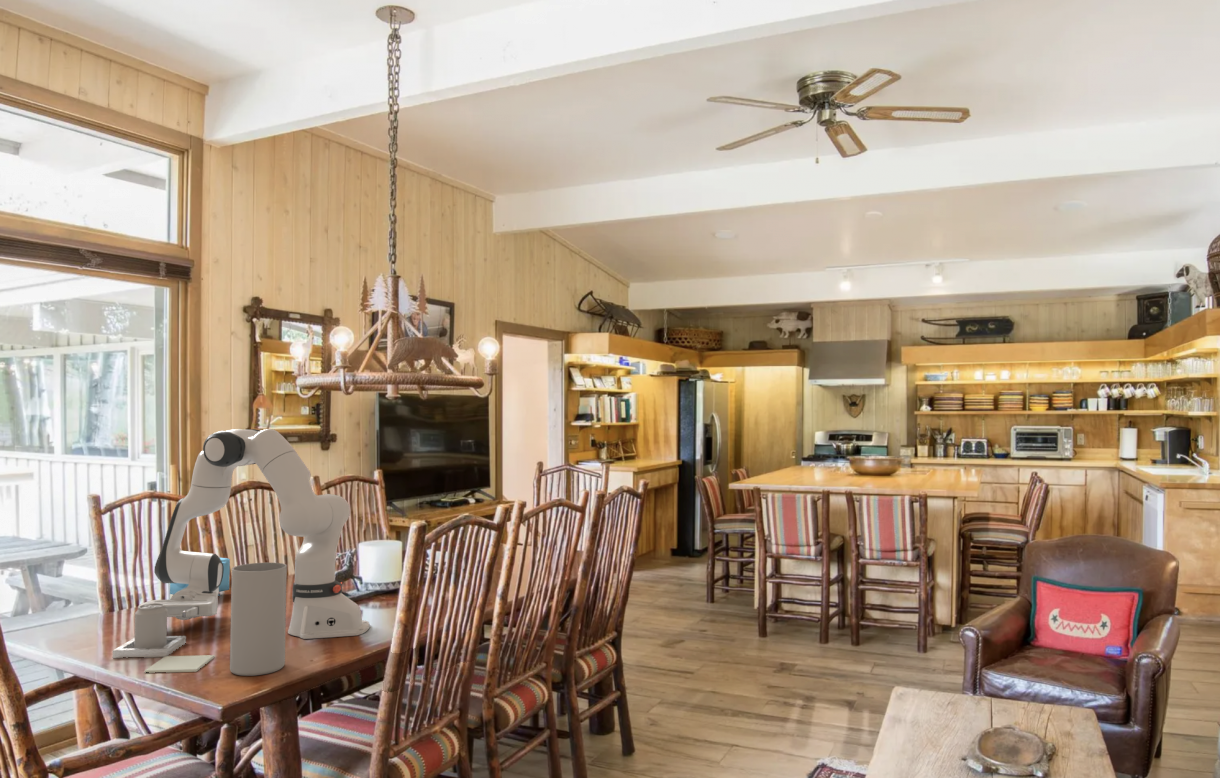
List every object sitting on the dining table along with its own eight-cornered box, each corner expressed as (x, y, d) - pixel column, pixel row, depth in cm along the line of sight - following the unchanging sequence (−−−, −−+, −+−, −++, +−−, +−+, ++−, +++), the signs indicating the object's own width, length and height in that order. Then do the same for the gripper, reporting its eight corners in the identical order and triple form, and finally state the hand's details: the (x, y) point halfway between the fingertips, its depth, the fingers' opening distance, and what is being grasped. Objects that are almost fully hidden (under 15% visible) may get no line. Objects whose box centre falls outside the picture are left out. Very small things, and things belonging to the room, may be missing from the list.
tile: (214, 657, 215) (214, 655, 215) (196, 671, 203) (196, 669, 203) (165, 658, 213) (165, 656, 213) (144, 673, 202) (144, 670, 202)
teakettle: (231, 590, 296) (232, 548, 297) (226, 601, 279) (226, 557, 279) (172, 594, 290) (173, 551, 291) (162, 605, 272) (163, 560, 273)
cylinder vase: (281, 659, 214) (283, 561, 215) (287, 672, 203) (289, 569, 204) (228, 665, 208) (230, 564, 209) (231, 679, 197) (233, 573, 198)
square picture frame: (185, 643, 228) (186, 635, 228) (165, 656, 215) (166, 649, 215) (135, 644, 226) (135, 636, 226) (112, 658, 213) (112, 650, 214)
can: (152, 655, 216) (153, 608, 217) (127, 653, 218) (128, 607, 218) (172, 647, 224) (173, 602, 224) (148, 645, 225) (149, 601, 225)
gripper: (149, 593, 244) (127, 604, 230) (222, 592, 246) (205, 602, 232) (149, 615, 243) (127, 627, 230) (222, 613, 246) (204, 625, 232)
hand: (167, 614), depth 231 cm, fingers open, 8 cm apart
